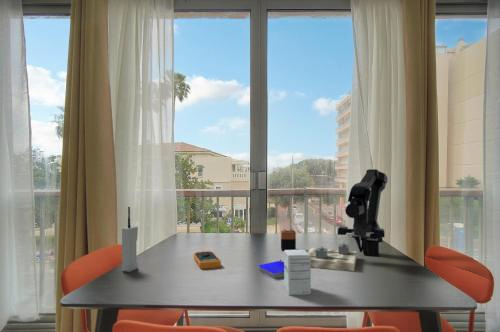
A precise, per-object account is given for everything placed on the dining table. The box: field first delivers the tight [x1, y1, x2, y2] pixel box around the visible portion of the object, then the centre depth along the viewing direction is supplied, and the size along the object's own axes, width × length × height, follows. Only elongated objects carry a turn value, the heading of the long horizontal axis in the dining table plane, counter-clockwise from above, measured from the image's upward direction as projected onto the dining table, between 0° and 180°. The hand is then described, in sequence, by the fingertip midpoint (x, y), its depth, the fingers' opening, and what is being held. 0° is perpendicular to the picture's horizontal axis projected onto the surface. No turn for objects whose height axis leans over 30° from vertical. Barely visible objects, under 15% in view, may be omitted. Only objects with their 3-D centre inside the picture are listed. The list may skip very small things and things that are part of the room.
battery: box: [280, 228, 297, 252], centre depth 167 cm, size 4×7×10 cm, turn 91°
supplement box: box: [283, 249, 312, 296], centre depth 112 cm, size 7×7×13 cm
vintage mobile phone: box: [121, 206, 139, 273], centre depth 136 cm, size 4×5×25 cm
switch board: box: [307, 247, 358, 272], centre depth 146 cm, size 20×20×3 cm
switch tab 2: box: [338, 242, 350, 254], centre depth 149 cm, size 4×5×4 cm
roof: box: [256, 259, 284, 279], centre depth 132 cm, size 12×12×5 cm
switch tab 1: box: [316, 245, 328, 259], centre depth 142 cm, size 4×5×4 cm
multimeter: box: [193, 250, 222, 270], centre depth 146 cm, size 9×18×3 cm, turn 18°
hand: (360, 252), depth 146 cm, fingers closed
